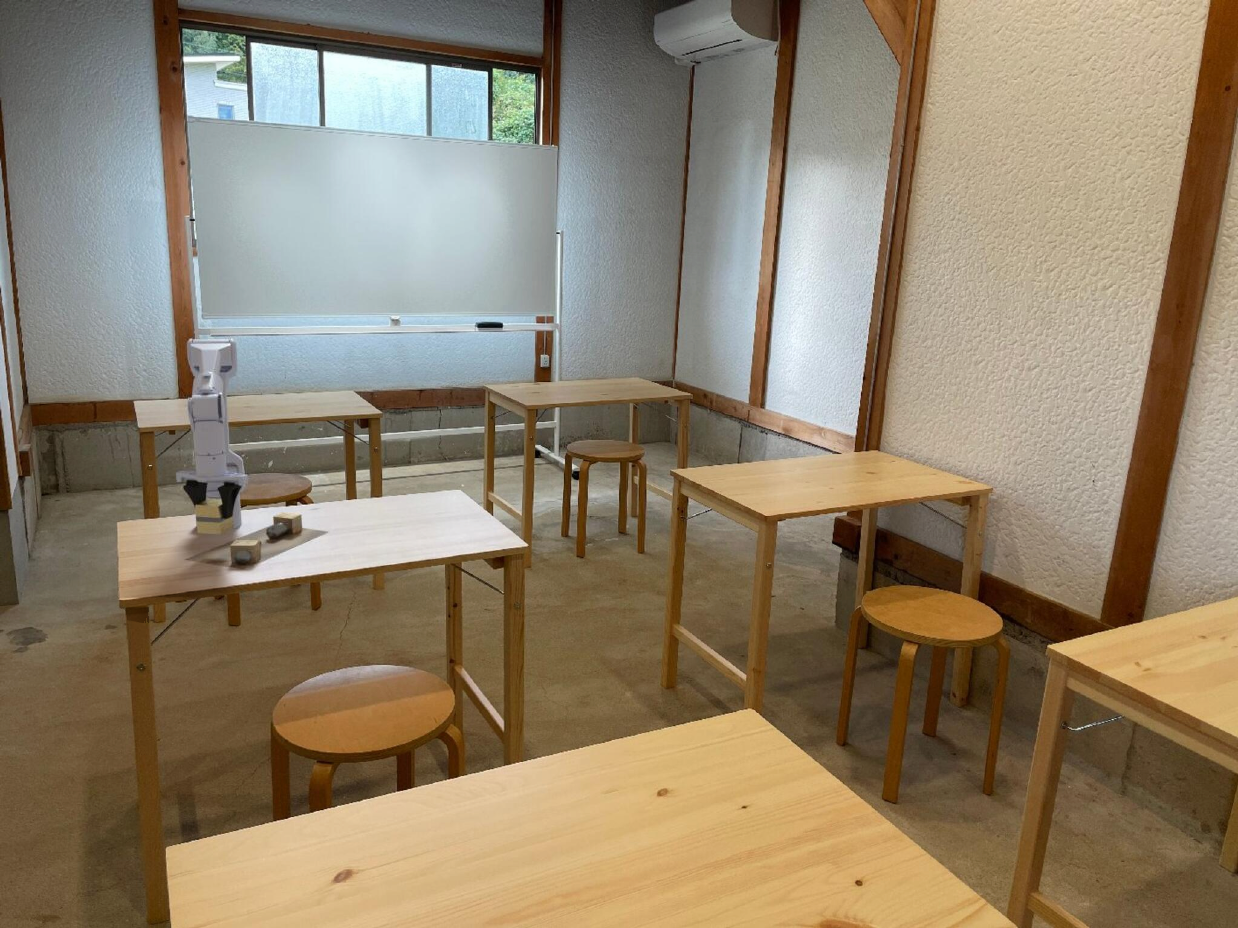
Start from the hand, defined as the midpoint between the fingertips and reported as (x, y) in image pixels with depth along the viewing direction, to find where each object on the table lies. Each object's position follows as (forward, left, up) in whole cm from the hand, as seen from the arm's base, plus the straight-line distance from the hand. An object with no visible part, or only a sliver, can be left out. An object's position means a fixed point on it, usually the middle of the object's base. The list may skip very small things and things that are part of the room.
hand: (215, 516), depth 184 cm
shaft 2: (+3, +16, -8) cm, 19 cm away
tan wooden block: (0, 0, -3) cm, 3 cm away
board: (+4, +8, -9) cm, 13 cm away
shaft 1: (+8, 0, -8) cm, 11 cm away
